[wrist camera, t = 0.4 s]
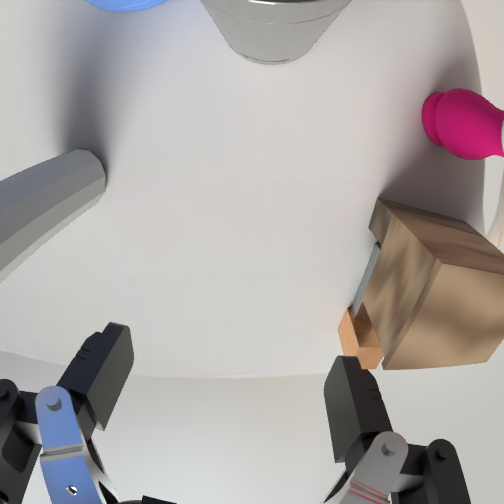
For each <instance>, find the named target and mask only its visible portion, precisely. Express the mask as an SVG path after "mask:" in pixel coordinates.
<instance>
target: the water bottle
mask: <svg viewBox="0 0 504 504" xmlns="http://www.w3.org/2000/svg"><path fill="white" fill-rule="evenodd" d="M105 181H106V175H105V172H104V169H103V167H102V164H101V161H100V160H99V159H98V158H97V157H96V156H95V155H94V154H93V153H91V152H90V151H87V150H80V149H76V150H73V151H71V152H68V153H65V154H62V155H60V156H57V157H54V158H52V159H49V160H47V161H44V162H42V163H39V164H37V165H35V166H32V167H30V168H28V169H25V170H23V171H21V172H19V173H17V174H14V175H12V176H10V177H8V178H6V179H4V180H2V181H0V283H1V282H2V281H4V280H5V279H6V278H7V277H8V276H9V275H10V274H11V273H12V272H13V271H14V270H15V269H16V268H17V267H18V266H19V265H21V264H22V263H23V262H24V261H25V260H26V259H27V258H28V257H29V256H31V255H32V254H33V253H34V252H35V251H36V250H38V249H39V248H40V247H41V246H42V245H43V244H45V243H46V242H47V241H48V240H49V239H51V238H52V237H53V236H54V235H56V234H57V233H58V232H59V231H61V230H62V229H63V228H64V227H66V226H67V225H68V224H70V223H71V222H72V221H74V220H75V219H76V218H77V217H79V216H80V215H81V214H83V213H84V212H86V211H87V210H88V209H90V208H91V207H92V206H94V205H95V204H97V203H98V201H99V200H100V198H101V197H102V195H103V193H104V192H105Z"/></svg>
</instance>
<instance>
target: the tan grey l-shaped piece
mask: <svg viewBox="0 0 504 504" xmlns="http://www.w3.org/2000/svg"><path fill="white" fill-rule="evenodd" d="M381 248H382V245H381V244H377V243H375V246H374V249H373V251H372V254H371V257H370V260H369V263H368V265H367V268H366V271H365V274H364V276H363V279H362V281H361V284H360V287H359V289H358V292H357V294H356V297H355V299H354V302H353V304H352V306H351V309H347V310H346V312H345V315H344V317H343V320H342V322H341V324H340V327H339V329H338V333H339V337H340V341H341V345H342V349H343V353H344V356H357V357H358V359H359V362H360V365H361V368H362V369H376V367H377V366H378V364H379V363H380V361H381V359H382V358H383V356H384V355H383V352H382V349H381V347H380V344H379V341H378V339H377V336H376V333H375V331H374V328H373V325H372V323H371V320H370V318H369V315H368V313H367V310H366V308H365V305H364V303H363V300H362V297H363V295H364V292H365V290H366V287H367V285H368V282H369V280H370V277H371V275H372V272H373V270H374V267H375V264H376V262H377V259H378V256H379V253H380V251H381Z"/></svg>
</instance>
